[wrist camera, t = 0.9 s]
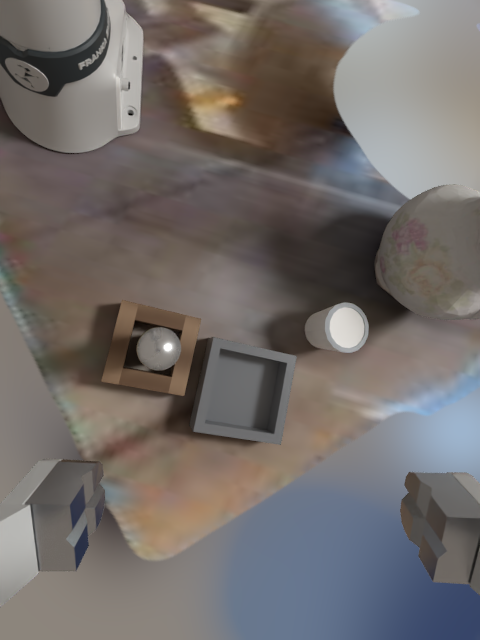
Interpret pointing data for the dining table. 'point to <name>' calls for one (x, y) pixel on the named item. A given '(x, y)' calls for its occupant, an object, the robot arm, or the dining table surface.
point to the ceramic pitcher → (434, 254)
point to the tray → (242, 392)
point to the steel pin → (158, 348)
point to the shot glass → (338, 328)
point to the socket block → (146, 379)
